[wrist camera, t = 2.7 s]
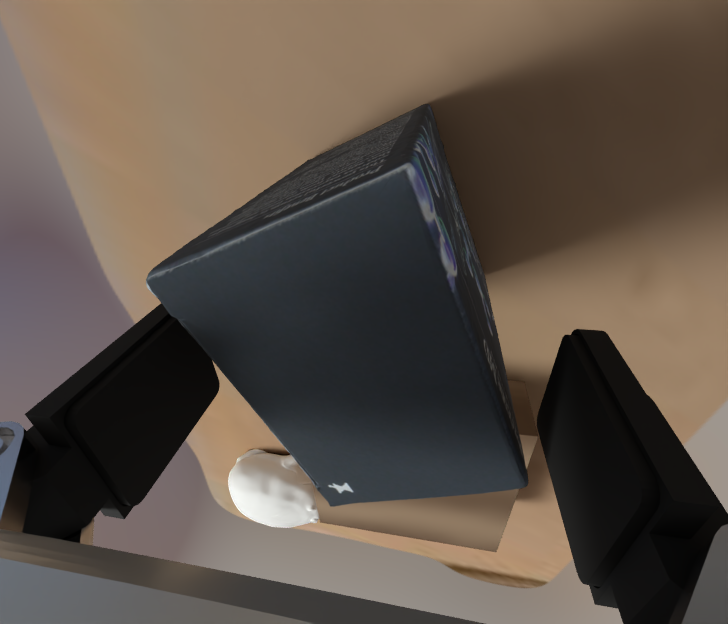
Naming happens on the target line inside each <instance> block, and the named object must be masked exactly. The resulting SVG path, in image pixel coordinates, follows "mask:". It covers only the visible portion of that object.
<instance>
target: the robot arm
mask: <svg viewBox="0 0 728 624" xmlns="http://www.w3.org/2000/svg"><path fill="white" fill-rule="evenodd" d="M218 391H219V379H218V377H217V374H216V371H215V368H214V365H213V362H212V359H211V358H210V357H209V356H208V354H207V353H206V352H205V351H204V349H203V348H202V347H201V346H200V345H199V343H198V342H197V341H196V340H195V339H194V338H193V337H192V336H191V335H190V333H189V332H188V331H187V330H186V329H185V328H184V327H183V325H182V324H181V323H180V322H179V321H178V319H177V318H175V317H173V316H171V315H170V314H169V312H168V311H167V310H166V308H165V307H164V306H163V304H162V303H161V304H160V305H158V306H157V307H156V308H155V309H154V310H152V311H151V312H150V313H149V314H147V315H146V316H145V317H144V318H143V319H141V320H140V321H139V322H138V323H136V324H135V325H134V326H133V327H131V328H130V329H129V330H128V331H127V332H125V333H124V334H123V335H122V336H120V337H119V338H118V339H117V340H115V341H114V342H113V343H112V344H111V345H109V346H108V347H107V348H106V349H104V350H103V351H102V352H101V353H99V354H98V355H97V356H96V357H95V358H93V359H92V360H91V361H90V362H88V363H87V364H86V365H85V366H84V367H82V368H81V369H80V370H79V371H77V372H76V373H75V374H74V375H72V376H71V377H70V378H69V379H68V380H66V381H65V382H64V383H63V384H61V385H60V386H59V387H58V388H56V389H55V390H54V391H53V392H52V393H50V394H49V395H48V396H47V397H45V398H44V399H43V400H42V401H41V402H39V403H38V404H37V405H36V406H34V407H33V408H32V409H31V410H30V411H28V412H27V413H26V414H25V415H26V416H27V418H28V419H29V420H30V421H31V423H32V424H33V425H34V426H32V427H31V428H30V429H29V430H28V431H26V430H25V429H24V428H23V427H22V426H21V425H20V424H19V423H16V422H12V421H9V422H0V624H484V623H479V622H474V621H469V620H464V619H459V618H454V617H449V616H445V615H440V614H435V613H430V612H425V611H420V610H415V609H410V608H405V607H400V606H395V605H390V604H385V603H380V602H376V601H371V600H365V599H361V598H355V597H351V596H346V595H341V594H336V593H331V592H326V591H321V590H316V589H311V588H306V587H301V586H296V585H291V584H286V583H281V582H276V581H271V580H266V579H261V578H256V577H251V576H246V575H240V574H236V573H231V572H225V571H220V570H215V569H210V568H205V567H200V566H195V565H190V564H185V563H180V562H174V561H169V560H164V559H159V558H154V557H148V556H144V555H138V554H133V553H128V552H122V551H117V550H112V549H107V548H102V547H96V546H93V529H94V517H95V516H96V514H97V513H98V512H99V511H100V510H101V512H102V513H103V514H104V515H105V516H110V517H116V518H121V519H125V518H126V516H127V515H128V514H129V512H130V511H131V509H132V508H133V507H134V506H135V505H138V504H139V503H140V502H141V501H142V500H143V499H144V498H145V496H146V495H147V493H148V492H149V490H150V489H151V488H152V486H153V485H154V483H155V482H156V480H157V479H158V478H159V476H160V475H161V473H162V472H163V471H164V469H165V468H166V466H167V465H168V463H169V462H170V461H171V459H172V458H173V456H174V455H175V453H176V452H177V451H178V449H179V448H180V446H181V445H182V443H183V442H184V441H185V439H186V438H187V436H188V435H189V433H190V432H191V431H192V429H193V428H194V426H195V425H196V424H197V422H198V421H199V419H200V418H201V416H202V415H203V414H204V412H205V411H206V409H207V408H208V406H209V405H210V404H211V402H212V401H213V399H214V398H215V396H216V395H217V393H218ZM537 428H538V433H539V436H540V440H541V444H542V447H543V451H544V454H545V458H546V462H547V465H548V469H549V473H550V476H551V480H552V483H553V487H554V491H555V494H556V498H557V501H558V505H559V509H560V512H561V516H562V520H563V523H564V527H565V530H566V534H567V538H568V541H569V545H570V548H571V552H572V556H573V559H574V563H575V567H576V570H577V573H578V576H579V578H580V580H581V582H582V583H583V584H587V585H589V586H590V589H591V593H592V596H593V599H594V603H595V604H596V605H602V606H607V607H613V608H618V609H619V612H620V615H621V618H622V621H623V623H624V624H728V513H727V512H726V511H725V509H724V507H723V506H722V504H721V503H720V501H719V500H718V498H717V497H716V495H715V494H714V492H713V491H712V489H711V488H710V486H709V485H708V483H707V482H706V480H705V479H704V477H703V475H702V474H701V472H700V471H699V469H698V468H697V466H696V465H695V463H694V462H693V460H692V459H691V457H690V456H689V454H688V453H687V451H686V450H685V449H684V447H683V445H682V444H681V442H680V440H679V439H678V437H677V436H676V434H675V433H674V431H673V430H672V428H671V427H670V425H669V424H668V422H667V421H666V419H665V418H664V416H663V415H662V413H661V412H660V410H659V409H658V407H657V406H656V404H655V402H654V401H653V400H652V399H651V398H650V397H649V396H648V395H647V394H646V393H645V391H644V390H643V388H642V387H641V385H640V384H639V382H638V381H637V379H636V377H635V376H634V374H633V373H632V371H631V370H630V368H629V367H628V365H627V364H626V362H625V360H624V359H623V357H622V356H621V354H620V353H619V351H618V350H617V348H616V347H615V345H614V344H613V342H612V340H611V339H610V337H609V336H608V334H607V333H606V332H604V331H598V330H583V329H576V330H574V331H573V332H572V334H571V335H565V336H564V337H563V339H562V341H561V344H560V347H559V350H558V353H557V357H556V360H555V363H554V366H553V369H552V372H551V375H550V378H549V381H548V384H547V387H546V391H545V394H544V397H543V400H542V403H541V406H540V409H539V412H538V416H537Z"/></svg>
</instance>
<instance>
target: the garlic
mask: <svg viewBox="0 0 728 624" xmlns="http://www.w3.org/2000/svg"><path fill="white" fill-rule="evenodd" d="M228 484H229V491H230V494H231V497H232V500H233V501H234V503H235V505H236V507H237V508H238V510H239V511H240V512H241V513H242V514H244V515H245V516H246V517H248V518H250V519H252V520H254V521H256V522H259V523H262V524H265V525H268V526H271V527H282V528H290V527H296V526H299V525H303V524H307V523H311V522H312V523H317V521H318V519H319V514H318V510H317V505H316V501H315V496H314V491H313V487H312V482H311V479H310V478H309V477H308V476H307V475H306V473H305V472H304V471H303V470H302V469H301V467H300V466H299V464H298V463H297V462H296V461H295V460H294V459H293V457H292V456H291V455H286V456H282V455H277V454H271V453H267V452H265V451H262V450H258V449H253V450H250V451H248V452H246V453H245V454H243V455H242V456H240V457H239V458H238V459H237V462H236V464H235V466H234V467H233V468H232V470H231V471H230V474H229V478H228Z"/></svg>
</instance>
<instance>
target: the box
mask: <svg viewBox="0 0 728 624" xmlns="http://www.w3.org/2000/svg"><path fill="white" fill-rule="evenodd" d="M146 285H147V287H148V289H149V290H150V291H151V292H152V293H153V294H154V295H155V296H156V297H157V298H158V299H159V300H160V302H161V303H162V304H163V306H164V307H165V308H166V310H167V311H168V312H169V314H170V315H171V316H173V317H175V318H177V319H178V321H179V322H180V323H181V324H182V325H183V327H184V328H185V329H186V330H187V331H188V332H189V333H190V335H191V336H192V337H193V338H194V339H195V340H196V341H197V342H198V343H199V345H200V346H201V347H202V348H203V349H204V351H205V352H206V353H207V354H208V356H209V357H210V358H211V359H212V360H213V361H214V363H215V364H216V365H217V366H218V367H219V369H220V370H221V371H222V373H223V374H224V375H225V376H226V377H227V379H228V380H229V381H230V382H231V383H232V384H233V386H234V387H235V388H236V389H237V390H238V391H239V393H240V394H241V395H242V396H243V397H244V398H245V400H246V401H247V402H248V403H249V404H250V406H251V407H252V408H253V410H254V411H255V412H256V413H257V414H258V415H259V417H260V418H261V419H262V420H263V422H264V423H265V424H266V425H267V426H268V427H269V429H270V430H271V432H272V433H273V434H274V435H275V436H276V437H277V439H278V440H279V441H280V442H281V444H282V445H283V446H284V447H285V449H286V450H287V451H288V452H289V453H290V454H291V456H292V457H293V459H294V460H295V461H296V462H297V463H298V464H299V466H300V467H301V469H302V470H303V471H304V472H305V473H306V475H307V476H308V477H309V478H310V479H311V481H312V482H313V484H314V485H315V487H316V489H317V491H319V493H320V494H321V495H322V496H323V497H324V498H325V499H326V501H327V502H328V503H329V505H330V506H331V507H335V506H341V505H347V504H354V503H366V502H380V501H394V500H408V499H424V498H437V497H448V496H460V495H471V494H483V493H490V492H498V491H507V490H514V489H520V488H524V487H526V486H527V485H528V474H527V469H526V465H525V459H524V455H523V449H522V444H521V440H520V435H519V431H518V426H517V421H516V417H515V412H514V408H513V403H512V398H511V393H510V389H509V384H508V380H507V375H506V371H505V366H504V361H503V357H502V352H501V347H500V343H499V339H498V333H497V329H496V325H495V321H494V316H493V312H492V308H491V303H490V298H489V294H488V289H487V285H486V279H485V275H484V272H483V269H482V266H481V263H480V260H479V257H478V254H477V251H476V248H475V245H474V242H473V239H472V236H471V233H470V230H469V226H468V224H467V220H466V217H465V214H464V211H463V208H462V205H461V202H460V199H459V195H458V192H457V189H456V186H455V182H454V180H453V178H452V174H451V171H450V168H449V165H448V162H447V159H446V156H445V152H444V146H443V144H442V142H441V139H440V136H439V132H438V129H437V125H436V122H435V119H434V115H433V112H432V109H431V106H430V105H429V104H424V105H422V106H420V107H418V108H416V109H414V110H411V111H410V112H408V113H405V114H404V115H401V116H399V117H397V118H395V119H393V120H391V121H389V122H387V123H385V124H383V125H381V126H379V127H377V128H375V129H373V130H371V131H368V132H366V133H364V134H363V135H361V136H359V137H356V138H354V139H352V140H350V141H348V142H346V143H344V144H342V145H339V146H337V147H335V148H333V149H331V150H329V151H327V152H325V153H323V154H321V155H318V156H316V157H315V158H313V159H310V160H307V161H306V162H305V163H304V164H302V165H301V166H300V167H298V168H296V169H295V170H294V171H293V172H291V173H290V174H288V175H287V176H285V177H284V178H282V179H281V180H279V181H278V182H276V183H275V184H273V185H272V186H270V187H269V188H268V189H266V190H264V191H263V192H262V193H260V194H258V195H257V196H256V197H255V198H253V199H252V200H250V201H249V202H247V203H246V204H245V205H243V206H242V207H241V208H239V209H237V210H235V211H234V212H233V213H232V214H231V215H229V216H228V217H226V218H225V219H223V220H222V221H220V222H218V223H217V224H216V225H214V226H213V227H211V228H209V229H208V230H207V231H205V232H204V233H203V234H201V235H199V236H198V237H197V238H195V239H193V240H192V241H190V242H189V243H188V244H186V245H185V246H183V247H182V248H181V249H179V250H178V251H176V252H175V253H174V254H173V255H171V256H170V257H168V258H167V259H165V260H164V261H162V262H161V263H160V264H158V265H157V266H156V267H155V268H153V269H152V270H151V271H150V273H149V274H148V277H147V279H146Z"/></svg>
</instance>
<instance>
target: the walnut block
mask: <svg viewBox="0 0 728 624" xmlns="http://www.w3.org/2000/svg"><path fill="white" fill-rule="evenodd" d="M508 384H509V389H510V393H511V398H512V403H513V408H514V412H515V417H516V421H517V426H518V431H519V435H520V440H521V444H522V449H523V455H524V459H525V465H526V469H527V466H528V464H529V461H530V458H531V455H532V453H533V450H534V447H535V444H536V442H537V439H538V434H537V430H536V426H535V422H534V418H533V414H532V410H531V406H530V402H529V398H528V394H527V390H526V387H525V383H524V382H523V381H512V380H508ZM311 482H312V481H311ZM312 487H313V491H314V496H315V501H316V505H317V510H318V514H319V519H320V522H321V523H327V524H333V525H339V526H345V527H351V528H357V529H362V530H368V531H374V532H380V533H386V534H392V535H398V536H404V537H409V538H415V539H421V540H427V541H433V542H439V543H445V544H451V545H456V546H462V547H468V548H474V549H480V550H486V551H492V552H497V549H498V546H499V543H500V541H501V538H502V535H503V532H504V530H505V527H506V524H507V521H508V519H509V516H510V513H511V510H512V508H513V505H514V502H515V499H516V497H517V494H518V491H519V489H514V490H507V491H498V492H490V493H483V494H471V495H460V496H448V497H437V498H424V499H408V500H394V501H380V502H366V503H354V504H347V505H341V506H335V507H331V506H330V505H329V503H328V502H327V501H326V499H325V498H324V497H323V496H322V495H321V494H320V493H319V491H317V489H316V487H315V485H314V484H313V482H312Z"/></svg>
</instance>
